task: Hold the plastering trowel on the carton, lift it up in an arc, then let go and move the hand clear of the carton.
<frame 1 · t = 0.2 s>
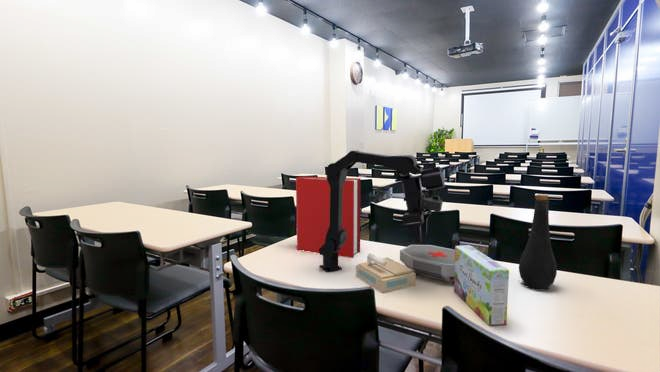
hand: (422, 238, 115), 15 cm above the table, tool pointing down, fingers open, 9 cm apart
snack box: (477, 307, 99), on the table
carton: (384, 280, 118), on the table
bottle: (536, 286, 113), on the table
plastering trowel: (387, 261, 118), point 7 cm above the table, hinge at 0.0°
first aid kit: (436, 274, 124), on the table
book: (327, 251, 151), on the table
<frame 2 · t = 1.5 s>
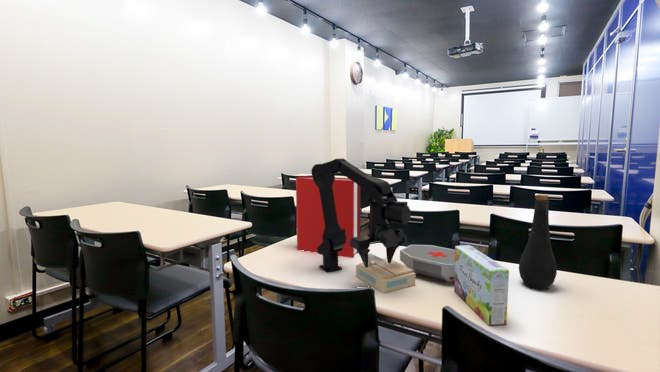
hand: (377, 265, 115), 6 cm above the table, tool pointing down, fingers open, 9 cm apart
nothing on the table moved.
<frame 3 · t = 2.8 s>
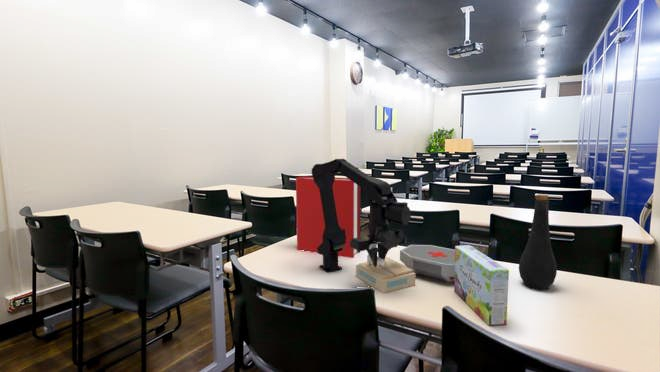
hand: (378, 266, 115), 6 cm above the table, tool pointing down, fingers closed on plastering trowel, 2 cm apart
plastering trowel: (387, 261, 118), point 7 cm above the table, hinge at 0.0°, touching gripper
everything else where it was.
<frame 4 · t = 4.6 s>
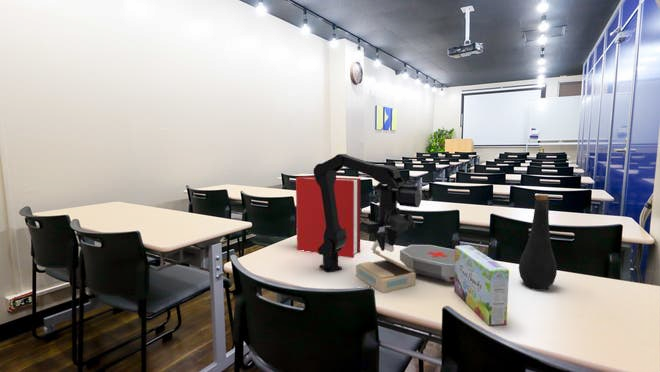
hand: (386, 250, 116), 11 cm above the table, tool pointing down, fingers open, 3 cm apart
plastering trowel: (391, 254, 119), point 9 cm above the table, hinge at 30.2°, touching gripper
everything else where it was.
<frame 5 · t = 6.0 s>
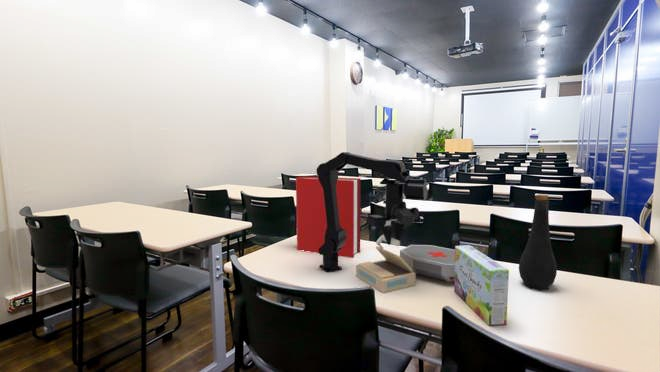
hand: (393, 243, 117), 13 cm above the table, tool pointing down, fingers open, 3 cm apart
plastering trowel: (394, 251, 119), point 10 cm above the table, hinge at 47.0°, touching gripper
everything else where it was.
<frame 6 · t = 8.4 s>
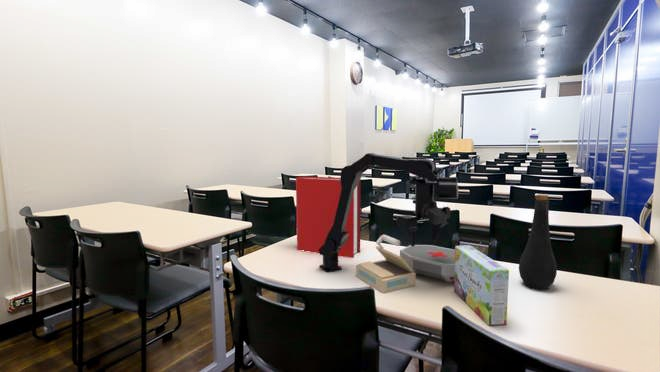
hand: (423, 244, 115), 13 cm above the table, tool pointing down, fingers open, 9 cm apart
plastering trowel: (394, 251, 119), point 10 cm above the table, hinge at 47.7°
everything else where it was.
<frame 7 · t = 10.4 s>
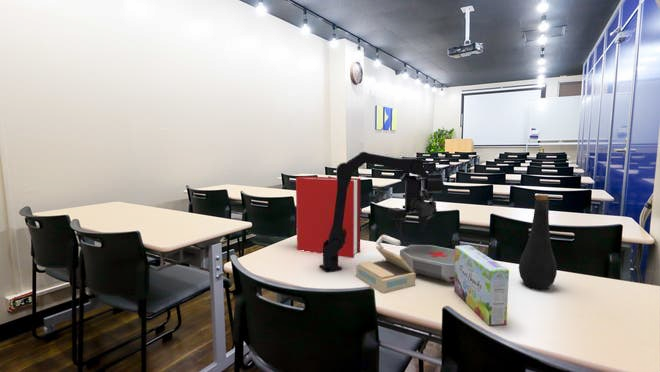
hand: (412, 234, 129), 13 cm above the table, tool pointing down, fingers open, 9 cm apart
nothing on the table moved.
at the end: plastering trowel at +48° (first picture: +0°); the gripper is holding nothing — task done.
